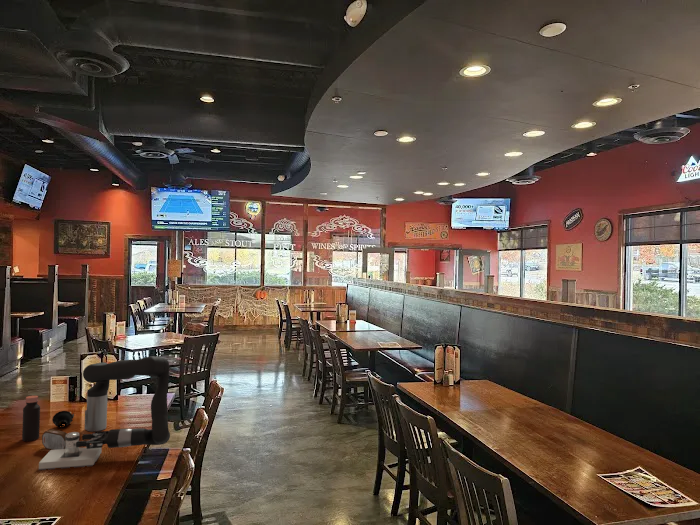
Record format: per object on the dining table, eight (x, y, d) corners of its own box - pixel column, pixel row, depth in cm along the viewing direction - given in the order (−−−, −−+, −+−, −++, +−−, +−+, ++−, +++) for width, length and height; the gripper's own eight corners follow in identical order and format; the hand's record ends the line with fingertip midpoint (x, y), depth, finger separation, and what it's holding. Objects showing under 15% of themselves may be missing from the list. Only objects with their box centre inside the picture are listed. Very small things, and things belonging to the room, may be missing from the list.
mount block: (38, 470, 194) (38, 462, 194) (50, 456, 207) (50, 449, 208) (93, 466, 199) (93, 458, 199) (101, 453, 213) (101, 446, 213)
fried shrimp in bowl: (48, 422, 238) (49, 402, 253) (58, 438, 243) (58, 417, 257) (68, 414, 241) (68, 394, 256) (78, 429, 246) (77, 409, 261)
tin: (71, 451, 215) (71, 432, 215) (65, 453, 212) (65, 434, 212) (46, 446, 220) (47, 427, 220) (40, 448, 217) (40, 429, 217)
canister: (63, 459, 203) (63, 433, 203) (76, 456, 207) (77, 431, 207) (66, 463, 200) (67, 437, 200) (80, 460, 203) (81, 434, 203)
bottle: (42, 438, 229) (43, 396, 230) (27, 442, 223) (29, 399, 224) (33, 435, 232) (34, 394, 233) (18, 440, 226) (20, 397, 226)
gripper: (124, 424, 215) (84, 426, 211) (117, 434, 201) (74, 437, 197) (123, 440, 215) (83, 443, 211) (117, 452, 201) (74, 455, 197)
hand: (79, 440), depth 204 cm, fingers open, 8 cm apart
